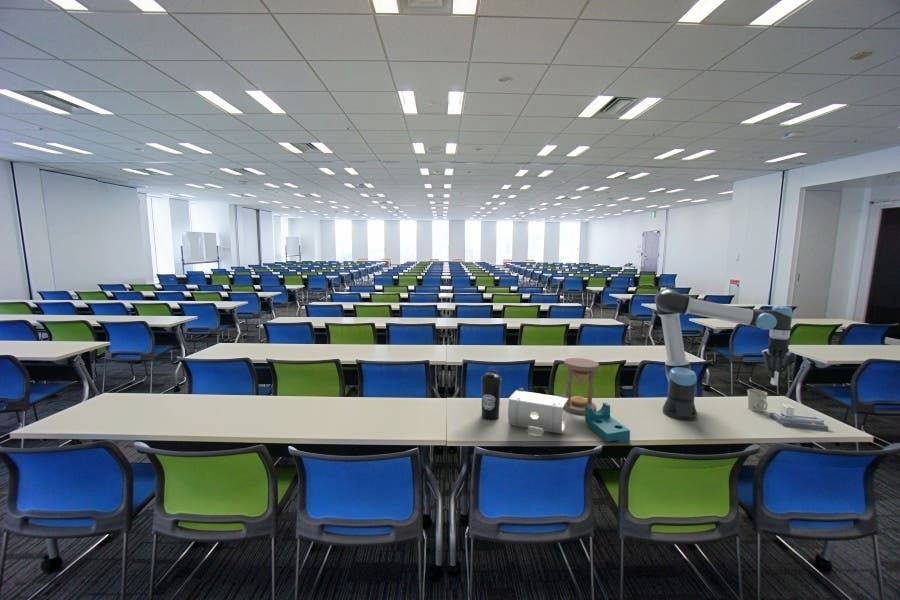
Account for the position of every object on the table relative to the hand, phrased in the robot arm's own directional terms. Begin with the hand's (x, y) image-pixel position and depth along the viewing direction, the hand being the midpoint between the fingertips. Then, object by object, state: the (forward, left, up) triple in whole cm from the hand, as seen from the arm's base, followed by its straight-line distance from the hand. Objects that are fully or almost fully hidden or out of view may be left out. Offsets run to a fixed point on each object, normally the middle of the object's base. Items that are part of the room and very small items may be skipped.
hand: (773, 384), depth 185 cm
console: (+12, 0, -19) cm, 22 cm away
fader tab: (+7, 0, -16) cm, 18 cm away
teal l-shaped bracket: (-82, -38, -19) cm, 92 cm away
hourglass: (-92, -11, -19) cm, 95 cm away
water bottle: (-136, -36, -19) cm, 142 cm away
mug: (+1, +12, -19) cm, 23 cm away
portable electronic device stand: (-113, -40, -19) cm, 122 cm away
